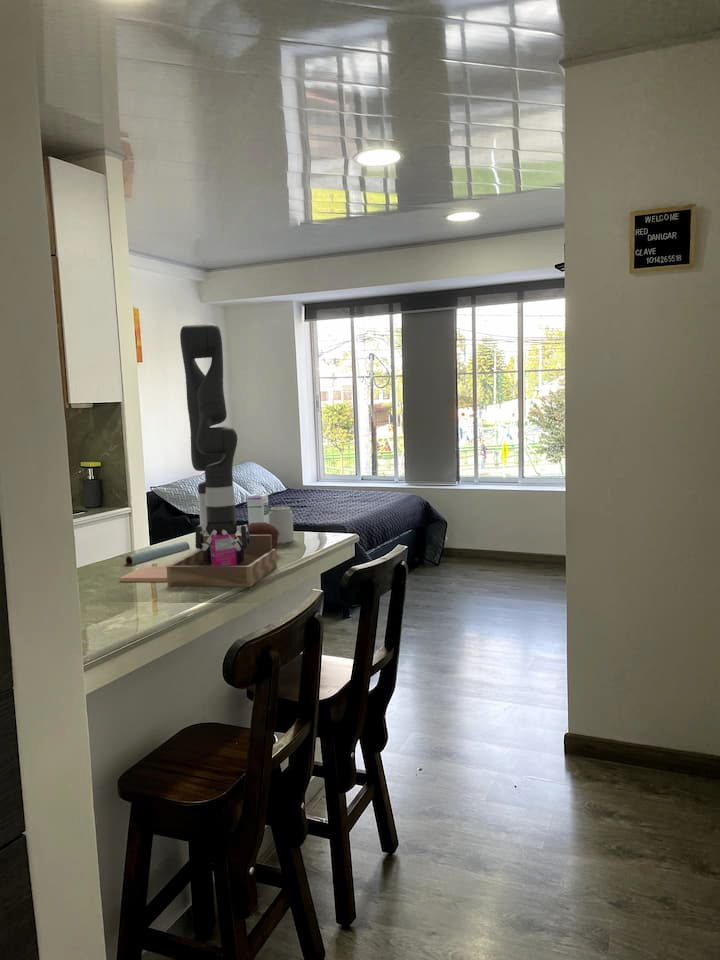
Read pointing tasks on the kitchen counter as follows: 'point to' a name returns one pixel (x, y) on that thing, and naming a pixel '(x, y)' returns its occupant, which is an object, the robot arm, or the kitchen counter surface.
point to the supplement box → (222, 551)
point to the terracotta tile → (146, 575)
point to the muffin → (264, 531)
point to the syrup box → (258, 508)
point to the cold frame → (246, 574)
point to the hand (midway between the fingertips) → (223, 564)
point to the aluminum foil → (156, 553)
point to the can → (282, 523)
